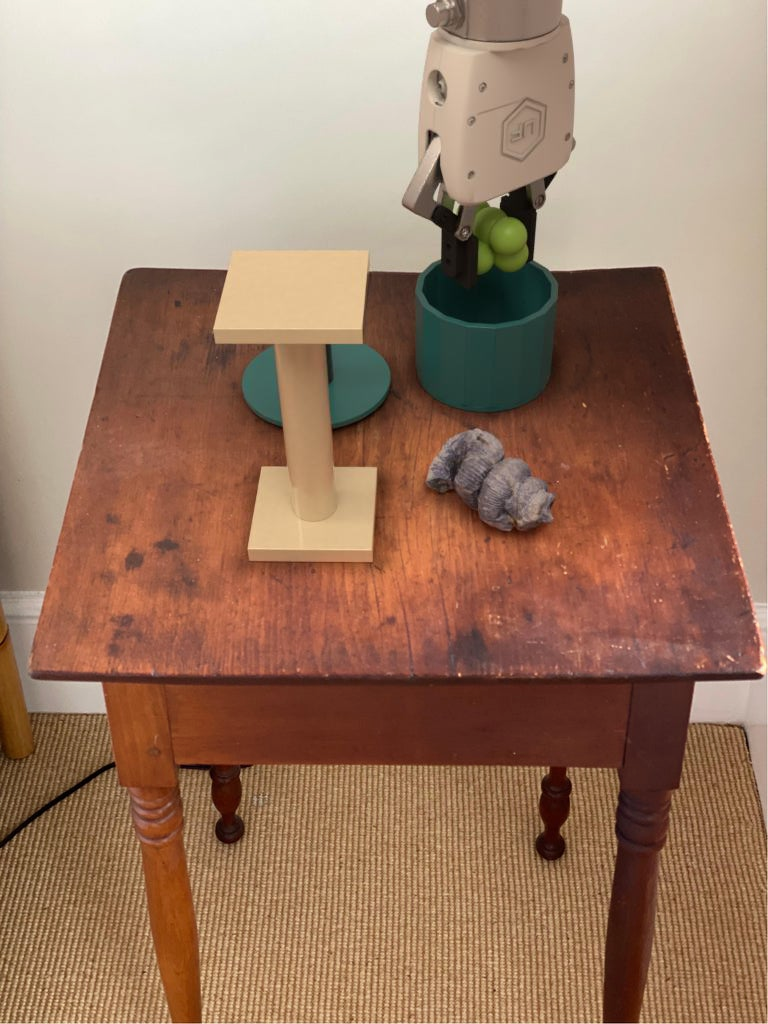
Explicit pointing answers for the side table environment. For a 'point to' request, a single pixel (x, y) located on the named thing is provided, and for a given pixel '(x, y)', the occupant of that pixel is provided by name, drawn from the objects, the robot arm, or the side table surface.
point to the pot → (485, 336)
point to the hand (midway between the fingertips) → (487, 265)
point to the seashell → (491, 482)
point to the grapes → (499, 240)
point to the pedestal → (303, 399)
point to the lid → (351, 379)
